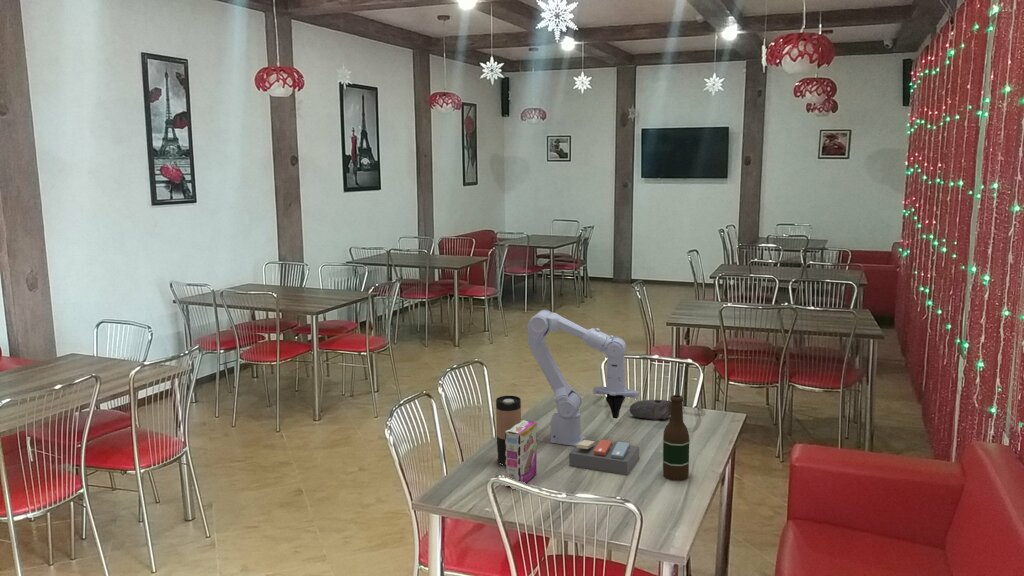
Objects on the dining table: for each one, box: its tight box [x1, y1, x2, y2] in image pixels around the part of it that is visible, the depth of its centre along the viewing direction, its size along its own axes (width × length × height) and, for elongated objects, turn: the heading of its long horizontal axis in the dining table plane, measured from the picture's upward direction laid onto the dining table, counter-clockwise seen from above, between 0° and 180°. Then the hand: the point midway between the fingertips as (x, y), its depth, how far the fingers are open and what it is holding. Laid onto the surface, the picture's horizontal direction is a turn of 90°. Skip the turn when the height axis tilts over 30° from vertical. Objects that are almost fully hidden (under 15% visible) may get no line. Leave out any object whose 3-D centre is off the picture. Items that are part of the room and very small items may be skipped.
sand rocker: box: [575, 440, 595, 449], centre depth 231 cm, size 4×7×1 cm, turn 155°
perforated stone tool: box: [629, 399, 671, 421], centre depth 267 cm, size 15×5×7 cm, turn 74°
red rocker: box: [593, 439, 613, 456], centre depth 228 cm, size 4×7×1 cm, turn 155°
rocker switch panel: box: [568, 438, 640, 476], centre depth 230 cm, size 18×13×4 cm
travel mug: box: [495, 395, 522, 466], centre depth 231 cm, size 8×8×20 cm
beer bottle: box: [662, 394, 690, 481], centre depth 218 cm, size 8×8×24 cm
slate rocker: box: [611, 441, 630, 459], centre depth 226 cm, size 4×7×1 cm, turn 155°
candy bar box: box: [505, 419, 538, 484], centre depth 217 cm, size 11×5×16 cm, turn 152°
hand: (615, 417), depth 242 cm, fingers closed
